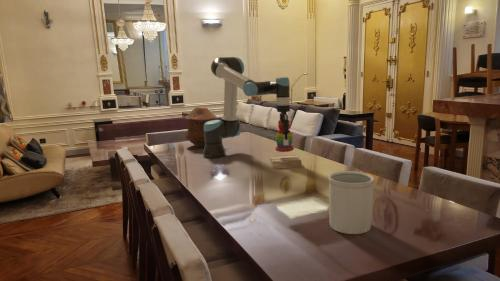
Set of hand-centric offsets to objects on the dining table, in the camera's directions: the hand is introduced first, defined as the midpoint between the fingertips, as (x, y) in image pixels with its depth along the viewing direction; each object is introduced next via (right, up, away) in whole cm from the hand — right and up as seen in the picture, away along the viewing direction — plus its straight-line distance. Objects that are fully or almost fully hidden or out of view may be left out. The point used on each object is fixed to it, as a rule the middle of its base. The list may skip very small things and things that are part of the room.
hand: (284, 143), depth 209 cm
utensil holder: (+14, -28, -86) cm, 91 cm away
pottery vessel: (-57, -3, +70) cm, 90 cm away
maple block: (+1, -13, +2) cm, 13 cm away
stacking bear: (0, -4, +1) cm, 4 cm away
